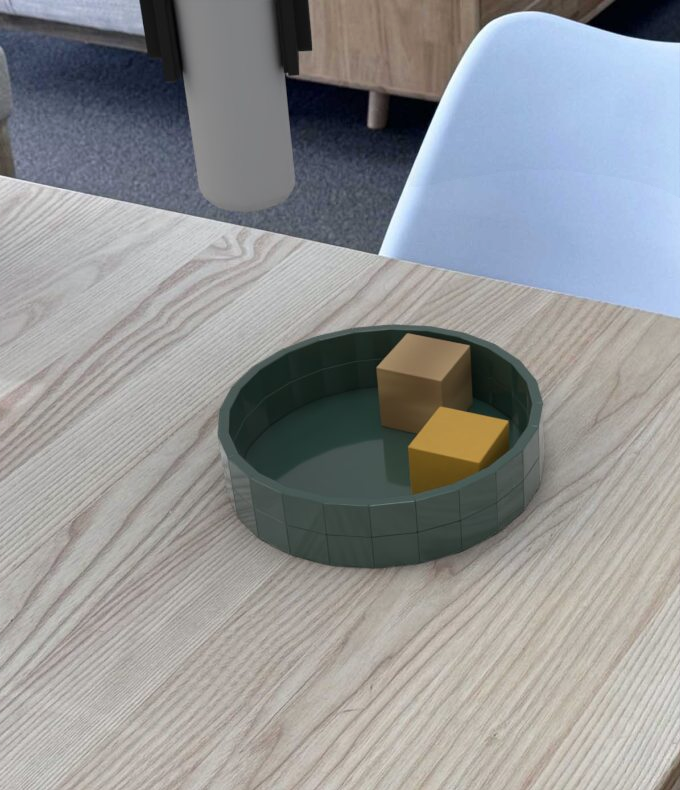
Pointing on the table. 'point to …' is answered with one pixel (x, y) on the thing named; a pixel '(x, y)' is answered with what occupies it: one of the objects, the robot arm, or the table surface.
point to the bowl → (368, 453)
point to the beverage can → (236, 101)
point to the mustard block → (455, 448)
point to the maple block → (423, 381)
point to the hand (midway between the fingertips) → (233, 65)
